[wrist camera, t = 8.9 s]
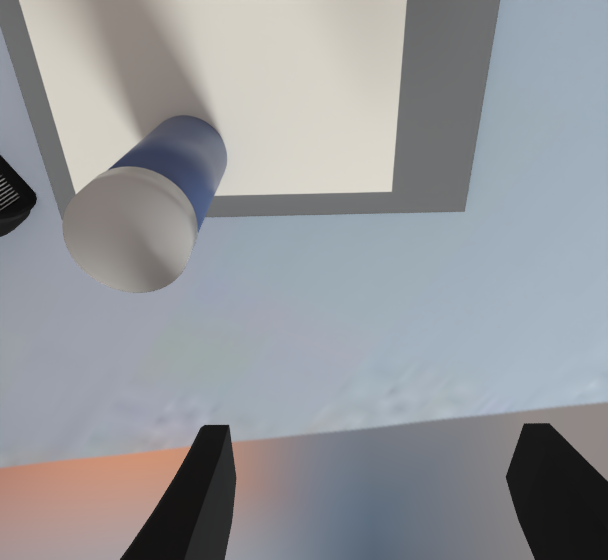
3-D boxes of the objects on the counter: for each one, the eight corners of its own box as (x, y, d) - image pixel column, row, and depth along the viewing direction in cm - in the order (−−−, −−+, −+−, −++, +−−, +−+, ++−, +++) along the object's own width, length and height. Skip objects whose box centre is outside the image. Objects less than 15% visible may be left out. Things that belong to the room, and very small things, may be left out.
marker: (225, 113, 16) (180, 180, 10) (231, 193, 18) (196, 292, 12) (141, 114, 16) (46, 180, 10) (155, 193, 18) (80, 293, 12)
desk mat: (529, -212, 12) (536, -217, 12) (461, 207, 19) (464, 211, 18) (-61, -192, 13) (-72, -198, 12) (66, 216, 19) (62, 220, 18)
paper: (410, -71, 14) (412, -72, 13) (390, 189, 18) (391, 191, 18) (7, -59, 14) (1, -60, 14) (80, 196, 18) (77, 198, 18)
